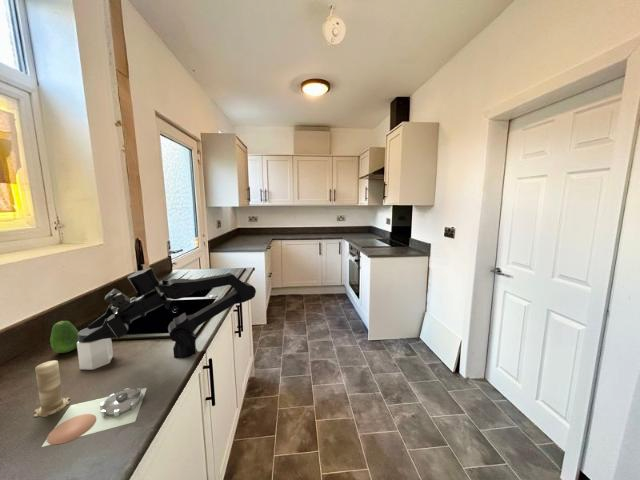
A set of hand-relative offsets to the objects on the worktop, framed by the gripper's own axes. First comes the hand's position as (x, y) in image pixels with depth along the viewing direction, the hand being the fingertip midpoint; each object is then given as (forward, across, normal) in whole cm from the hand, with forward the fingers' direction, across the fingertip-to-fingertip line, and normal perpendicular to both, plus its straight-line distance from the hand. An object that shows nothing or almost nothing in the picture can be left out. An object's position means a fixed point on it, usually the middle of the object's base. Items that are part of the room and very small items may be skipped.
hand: (86, 333), depth 75 cm
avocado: (+15, -29, +12) cm, 35 cm away
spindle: (+12, +8, +13) cm, 19 cm away
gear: (-2, +17, +17) cm, 24 cm away
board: (+2, +18, +16) cm, 24 cm away
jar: (+6, -14, +15) cm, 22 cm away
